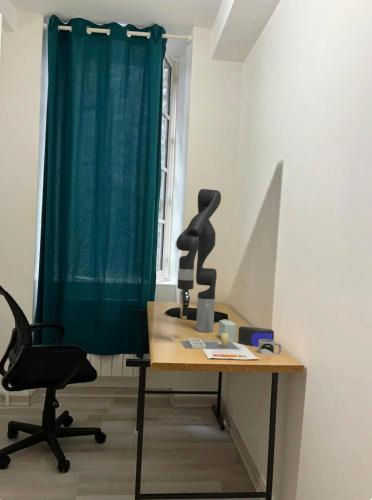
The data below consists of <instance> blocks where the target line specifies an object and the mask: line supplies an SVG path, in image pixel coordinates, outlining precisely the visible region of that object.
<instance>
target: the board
mask: <svg viewBox="0 0 372 500" xmlns="http://www.w3.org/2000/svg"><path fill="white" fill-rule="evenodd" d="M220 338H221V340H220V341H203V340H202V339H201V337H200V338H198V337H197V338H196V337H195V338H194V337H190V338H187V340H180V343H181V345H182V346H183V347H184V349H187V350H188V349H189V350H195V349H196V350H240V348H239V347H238V346H237V345H236V344H234V342H233V341H228V333H222V335H221V337H220Z"/></svg>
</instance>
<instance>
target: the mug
mask: <svg viewBox="0 0 372 500" xmlns="http://www.w3.org/2000/svg"><path fill="white" fill-rule="evenodd" d="M275 346H278V348H279V349H278V351H275ZM257 349H258V350H257V352H258V353H259V354H262V355H274V354H276V355H280V354H281V353H282V344H281V343H279V342H275V340H270V339H259V345H258V347H257Z"/></svg>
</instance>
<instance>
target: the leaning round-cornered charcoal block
mask: <svg viewBox="0 0 372 500" xmlns="http://www.w3.org/2000/svg"><path fill="white" fill-rule="evenodd" d="M237 335H238V336H237V337H238V338H237V343H238V344H240V345H243V346H248V347H256V348H258V345H259V339H270V340H274V339H275V331H274V330H273V329H269V328H261V327H252V326H245V325H244V326H239V327H238V333H237ZM274 341H275V340H274Z"/></svg>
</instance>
